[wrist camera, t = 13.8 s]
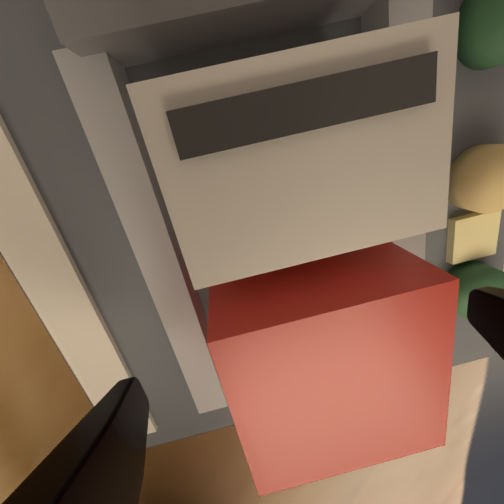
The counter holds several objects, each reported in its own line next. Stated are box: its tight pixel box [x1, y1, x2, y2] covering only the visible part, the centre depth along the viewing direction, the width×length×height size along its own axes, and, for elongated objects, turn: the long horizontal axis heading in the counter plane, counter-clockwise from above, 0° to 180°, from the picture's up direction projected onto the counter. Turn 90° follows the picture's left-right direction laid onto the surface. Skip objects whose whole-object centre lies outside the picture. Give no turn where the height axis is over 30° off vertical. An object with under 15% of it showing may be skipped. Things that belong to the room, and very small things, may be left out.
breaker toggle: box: [126, 12, 460, 290], centre depth 6 cm, size 3×4×4 cm
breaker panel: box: [0, 0, 504, 448], centre depth 7 cm, size 20×16×3 cm
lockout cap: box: [207, 242, 460, 497], centre depth 7 cm, size 4×4×4 cm
